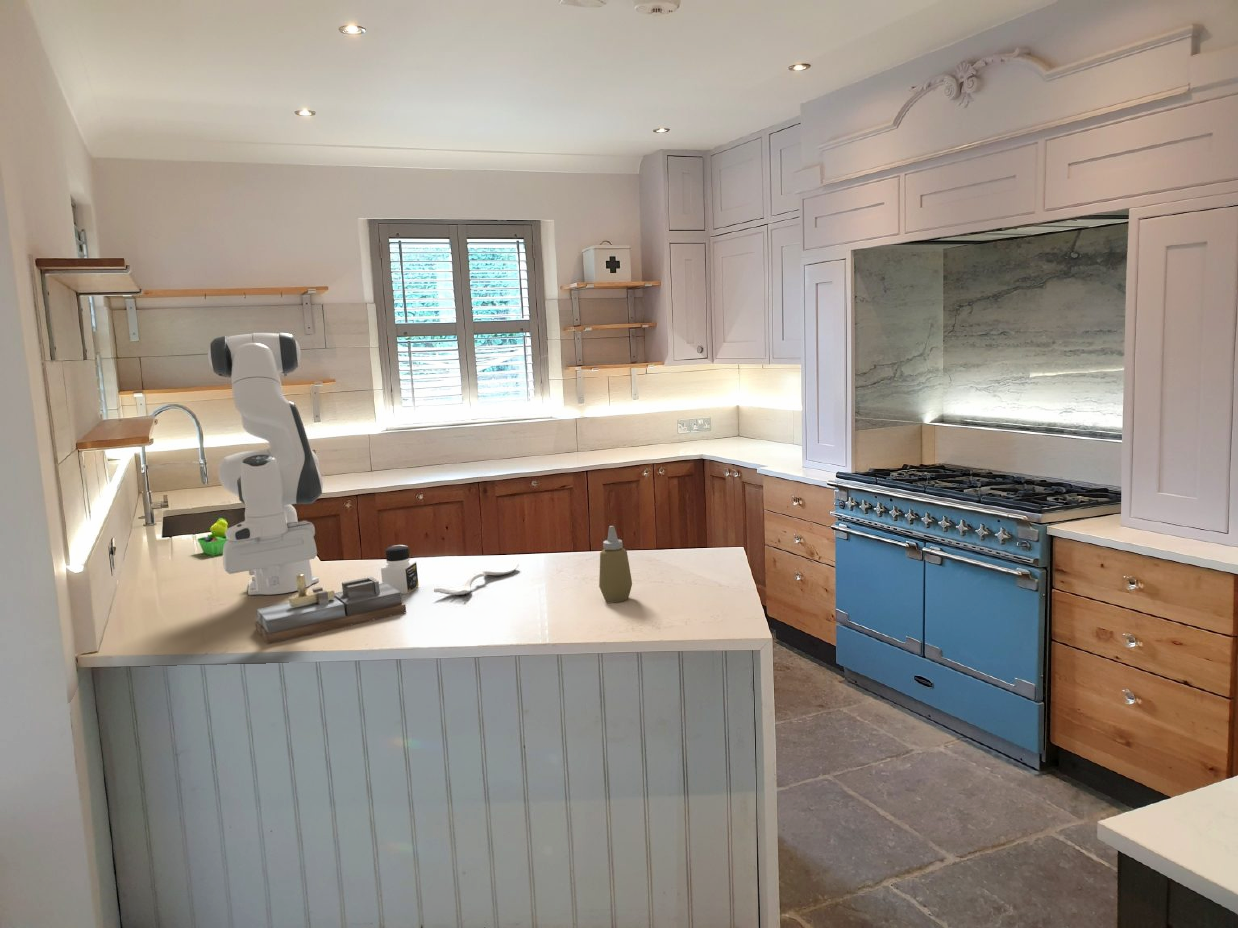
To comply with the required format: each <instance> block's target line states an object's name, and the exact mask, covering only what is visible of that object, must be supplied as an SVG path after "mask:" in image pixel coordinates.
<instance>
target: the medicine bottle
mask: <svg viewBox="0 0 1238 928" xmlns="http://www.w3.org/2000/svg"><path fill="white" fill-rule="evenodd" d="M385 561H386V565H384V566H383V567H381V568H380V574H381V583H386V584H388V585H390V586H391V587H393V588H395V589H396V590H398V591H400V592H401V595H405V594H406V595H407V594H408V595H409V594H410V593H411V592H413V591H414V590H416V589H417V588H418V587H419V585H420V584H419V577H418V567H417V566H418V565H417V561H416V560H411V556H410V548H409V546H408V545H405V544H404V545H403V544H397V545H391V546H389V547H387V548H385ZM412 590H413V591H412Z"/></svg>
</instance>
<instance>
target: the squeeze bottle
mask: <svg viewBox="0 0 1238 928" xmlns="http://www.w3.org/2000/svg"><path fill="white" fill-rule="evenodd" d="M602 546H603V547H602V548H603V549H602V550H601V551H600V553H599V583H598V585H599V586H598V587H599V589H600V591H601V594H602V596H603V598H604V601H606V602H610V603H611V602H612V603H619V602H623V601H627V600H628V599H629V598H630V595H631V594H630V593H631V591H632V586H633V580H632V574H631V569H630V568H631V566H630V562H629V556H628V551H627V550H626V549H625V548H623V546H624V545H623V540H622V539H620V538H619V539H618V535H617V531H616V529H615V525H610V526H609V527H608V533H607V539H606V540H604V541H603V542H602Z"/></svg>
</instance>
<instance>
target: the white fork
mask: <svg viewBox="0 0 1238 928" xmlns="http://www.w3.org/2000/svg"><path fill="white" fill-rule="evenodd" d="M519 566H520V565H519V563H518V562H517V561H515V560H503V561H499V562H496V563H494V564H492V565H490V566H488V567H486V568H485V569H483V570H482V571H478V572H475V573H474V574H473V575H472V576H471V577H469V579H468V580H467V581H466V582H465V583H463V584H462V585H460V586H458V587H450V588H439V587H438V588H434V590H433V592H434V593H440V594H445V595H451V596H463V595H466V594H468V593H470V592H471V591H472V590H473V589H472V588H471V587H472V584H473V582H474V581H475V580H476V579H479V578H481V577H484V576H486V575H488V576H497V577H498V576H505V575H507V574H510V573H512V572H514V571H516V570H517V568H518V567H519Z"/></svg>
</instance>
